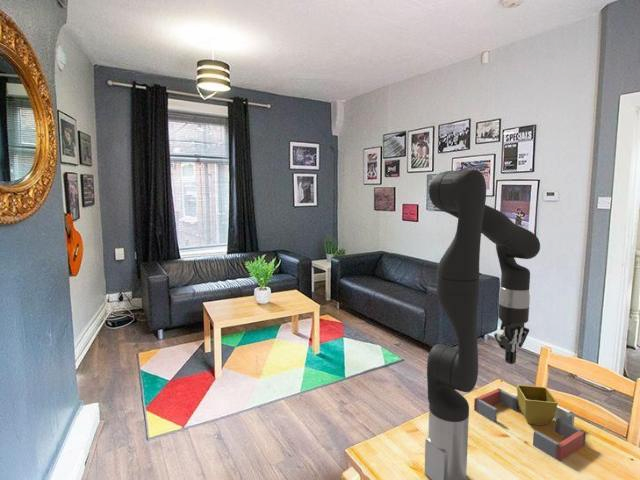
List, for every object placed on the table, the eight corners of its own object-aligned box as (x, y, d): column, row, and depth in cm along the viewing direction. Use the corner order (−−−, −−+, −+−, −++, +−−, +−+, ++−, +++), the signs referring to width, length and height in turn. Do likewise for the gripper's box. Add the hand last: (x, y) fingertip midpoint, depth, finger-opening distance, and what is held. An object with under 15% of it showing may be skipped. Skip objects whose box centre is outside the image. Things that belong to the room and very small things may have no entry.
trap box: (596, 437, 104) (597, 424, 104) (560, 461, 95) (561, 447, 94) (510, 393, 127) (510, 383, 127) (474, 410, 118) (474, 398, 117)
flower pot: (556, 431, 107) (558, 402, 106) (524, 427, 109) (525, 399, 108) (544, 413, 116) (546, 387, 114) (514, 410, 117) (516, 384, 116)
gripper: (511, 310, 94) (508, 373, 96) (541, 303, 101) (537, 362, 103) (486, 303, 101) (483, 362, 103) (515, 297, 107) (512, 353, 109)
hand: (510, 362), depth 103 cm, fingers closed
